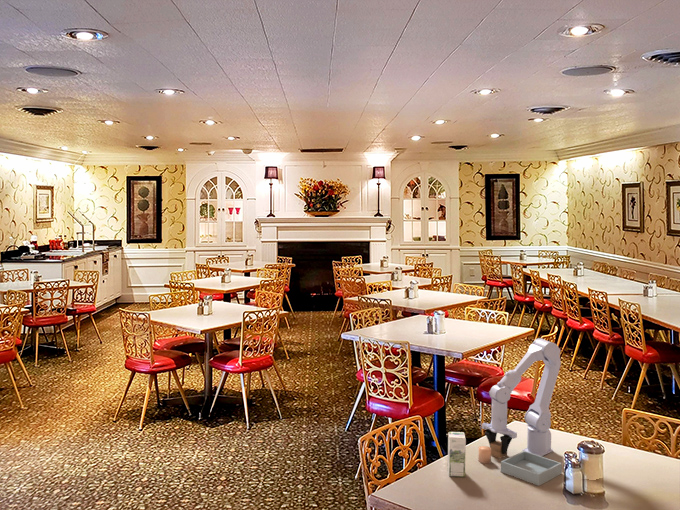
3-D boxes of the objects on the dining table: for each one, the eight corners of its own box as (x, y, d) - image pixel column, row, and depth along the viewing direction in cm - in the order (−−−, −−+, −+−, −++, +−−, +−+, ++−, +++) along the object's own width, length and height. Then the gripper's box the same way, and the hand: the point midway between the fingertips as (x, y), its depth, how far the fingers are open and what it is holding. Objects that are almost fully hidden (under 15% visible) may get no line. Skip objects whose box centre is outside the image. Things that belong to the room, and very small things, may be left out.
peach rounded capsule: (483, 457, 229) (483, 445, 229) (493, 461, 226) (493, 448, 226) (475, 461, 226) (476, 448, 226) (486, 464, 223) (486, 451, 223)
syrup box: (463, 470, 218) (464, 431, 217) (465, 477, 212) (465, 437, 211) (447, 470, 218) (448, 430, 217) (448, 477, 212) (449, 436, 212)
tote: (523, 460, 227) (524, 450, 227) (561, 473, 215) (561, 463, 215) (500, 471, 217) (500, 461, 217) (538, 485, 205) (538, 475, 205)
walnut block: (496, 451, 235) (497, 440, 235) (507, 455, 232) (507, 443, 232) (489, 454, 232) (490, 443, 232) (500, 458, 229) (500, 446, 229)
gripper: (477, 414, 234) (476, 448, 235) (509, 424, 223) (509, 459, 224) (487, 410, 239) (487, 444, 240) (520, 419, 228) (519, 454, 229)
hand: (498, 451), depth 232 cm, fingers closed on walnut block, 5 cm apart
